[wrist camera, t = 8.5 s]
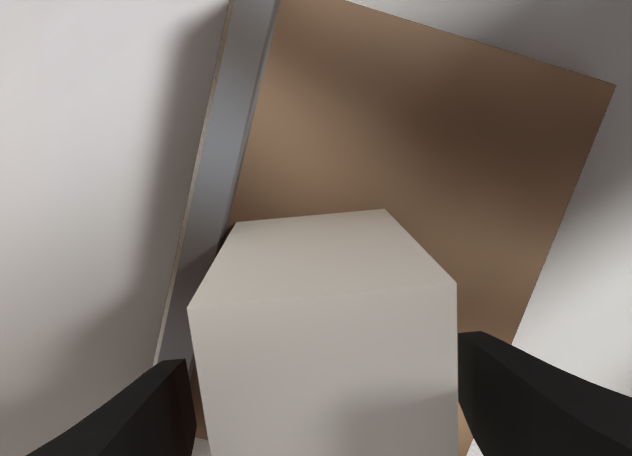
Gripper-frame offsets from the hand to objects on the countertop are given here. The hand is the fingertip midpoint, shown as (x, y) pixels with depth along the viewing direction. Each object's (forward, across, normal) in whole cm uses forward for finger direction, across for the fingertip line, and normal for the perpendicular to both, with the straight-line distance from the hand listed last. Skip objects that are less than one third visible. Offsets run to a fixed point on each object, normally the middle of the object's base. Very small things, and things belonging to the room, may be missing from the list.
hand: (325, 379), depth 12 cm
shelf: (+6, -2, -1) cm, 6 cm away
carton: (+4, 0, 0) cm, 4 cm away
